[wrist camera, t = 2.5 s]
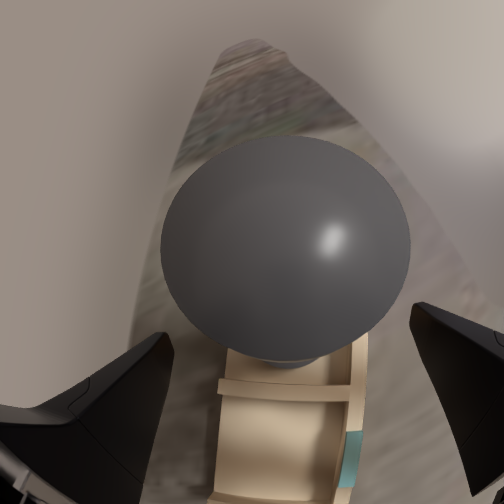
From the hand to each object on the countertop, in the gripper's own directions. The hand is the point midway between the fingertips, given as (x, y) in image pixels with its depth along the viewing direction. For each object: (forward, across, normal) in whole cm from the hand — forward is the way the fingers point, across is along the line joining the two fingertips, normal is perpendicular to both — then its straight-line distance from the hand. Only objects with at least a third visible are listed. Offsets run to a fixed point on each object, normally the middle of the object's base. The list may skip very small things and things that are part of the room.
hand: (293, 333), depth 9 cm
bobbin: (+8, 0, +5) cm, 9 cm away
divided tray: (+5, 0, +9) cm, 10 cm away
